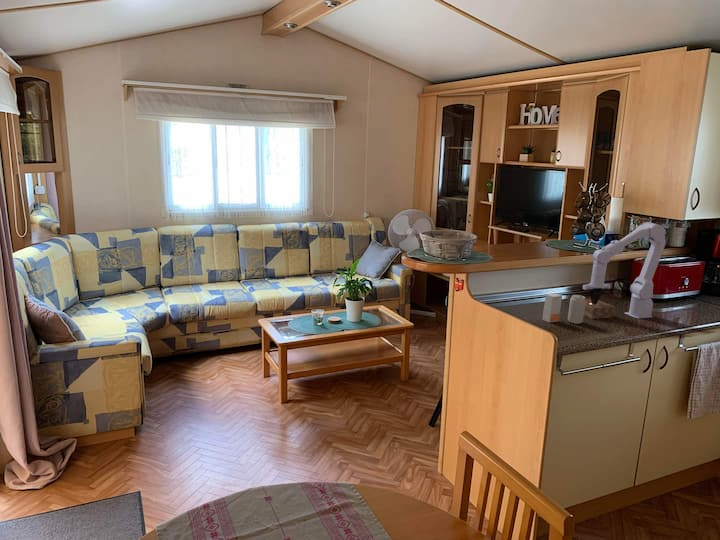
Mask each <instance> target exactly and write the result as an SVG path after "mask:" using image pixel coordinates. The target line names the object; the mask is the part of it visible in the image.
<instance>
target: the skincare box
mask: <svg viewBox="0 0 720 540" xmlns="http://www.w3.org/2000/svg"><path fill="white" fill-rule="evenodd" d="M562 299H563V295H561V294H559V293H558V294H557V293H550V294H549V293H547V294H545V298H544V303H543V304H544V306H543V310H542V311H543V312H542V319H541V320H542V321H544V322H547V323H554V322H555V323H556V322H557V323H558V322H559V320H560V313H561V309H562V308H561V307H562V306H561V305H562Z"/></svg>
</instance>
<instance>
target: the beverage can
mask: <svg viewBox="0 0 720 540" xmlns="http://www.w3.org/2000/svg"><path fill="white" fill-rule="evenodd" d="M586 300H587V299H586V297H585V296H583V295H580V294H572V295H571V297H570V300H569V306H568V307H569V308H568V314H567V321H568V322H569V323H570V322H571V323H570V324H573V323H574V325H581V324H582V323H583V322H584V317H585V316H584V310H585V303H586ZM580 323H581V324H580Z"/></svg>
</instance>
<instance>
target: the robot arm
mask: <svg viewBox="0 0 720 540" xmlns="http://www.w3.org/2000/svg"><path fill="white" fill-rule="evenodd" d="M666 232H667V231H666V230H665V228H664V227H663V225H661V224H657V223H654V222H651V221H645V222H643V223H642V224H640V225H638V226H637V228H635V229H634V230H632V231H631V232H630V233H628V234H626V236H624V237H622V238H621V239H620V240H617V239H615V240H611V241H610V243H608V244H607V245H605V246H602V247H601V249H597V250H595V251H594V253H593V254H592V255H591V257H592V260H593V265H592V270H591V271H592V272H591V276H590V282H589V283H587V284H583V285H582V290H584V291H586V290H587V291H588V293H589V296H590V299H591V303H592V304H597V302H598V300H599V301H600V298H601V296H602V295H603V294H604V293H605V290H604V289H608V290H609V289H611V285H612V284H610V283H605V279H606V272H607V267H608V266H607V265H608V263H609V262H610V261H611V259H612V258H613V257H615V256H616V255H618V254H620V253H621V252H623V251H624V249H625V247H626V246H628V245H630V244H631V243H633V242H635V241H637V240H639V239H647V240H649V242H650V247H649V250H648V253H647V255H646V258H645V260H644V263H643V266H642V268H641V271H640V274H639V276H637V277H636V278H635V279H634V281H633V283H632V284H630V287H629V290H630V293H631V297H630V303H629V304H630V305H629V310H628V311H627V312H624V314H625V315H627V316H630V317H632V318H635V319H647V318H648V319H649V318H653V315H652V313H653V308H654V307H653V306H654V302H653V300H652V298H651V297H652V296H653V293H654V291H653V290H654V287H655V285H654V281H653V279H654V276H655V273H656V270H657V268H658V265H659V264H660V260H661V257H662V254H663V252H664V250H665V246H666V242H667V241H666Z"/></svg>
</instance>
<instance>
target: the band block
mask: <svg viewBox="0 0 720 540" xmlns="http://www.w3.org/2000/svg"><path fill="white" fill-rule="evenodd" d="M585 300H586V303H585V310H584V317H586V316H587V317H586V318H588V317H589V319H591V320H592V319H594V320H595V318H596V319H607V318H614V316H615V313H616V306H614V305H611V304H609V303H606V302H604V301H602V300H600V299H599V300H598V302H597V303H598V304H599V305H591V304H589V302H591V298H590V299H585Z"/></svg>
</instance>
